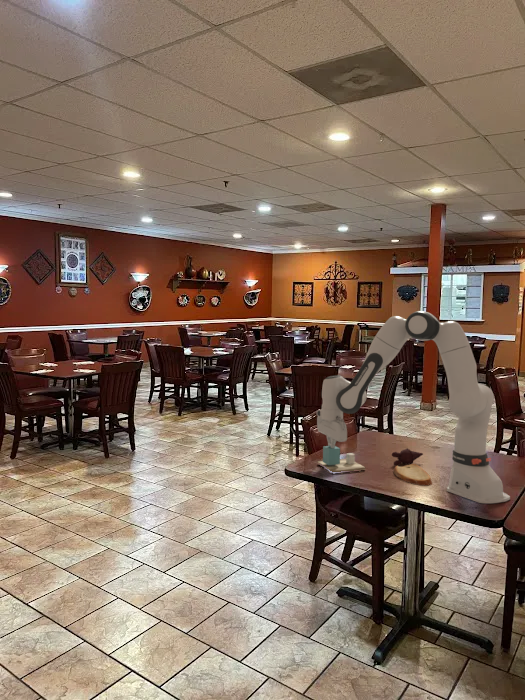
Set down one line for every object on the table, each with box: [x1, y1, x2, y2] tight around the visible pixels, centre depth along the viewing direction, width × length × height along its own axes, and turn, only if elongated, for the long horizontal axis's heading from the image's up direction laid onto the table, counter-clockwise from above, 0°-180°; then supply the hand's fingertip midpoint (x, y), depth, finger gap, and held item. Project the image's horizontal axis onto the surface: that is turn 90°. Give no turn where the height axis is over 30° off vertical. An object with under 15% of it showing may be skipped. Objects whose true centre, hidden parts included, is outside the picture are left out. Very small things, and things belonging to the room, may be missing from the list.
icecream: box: [391, 448, 424, 466], centre depth 235 cm, size 7×7×15 cm
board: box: [316, 458, 366, 472], centre depth 229 cm, size 14×15×2 cm
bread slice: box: [393, 463, 433, 486], centre depth 218 cm, size 18×18×4 cm
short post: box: [345, 452, 356, 464], centre depth 230 cm, size 3×3×4 cm
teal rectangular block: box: [322, 445, 341, 465], centre depth 227 cm, size 5×5×7 cm
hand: (331, 447), depth 227 cm, fingers closed, pressing on teal rectangular block
